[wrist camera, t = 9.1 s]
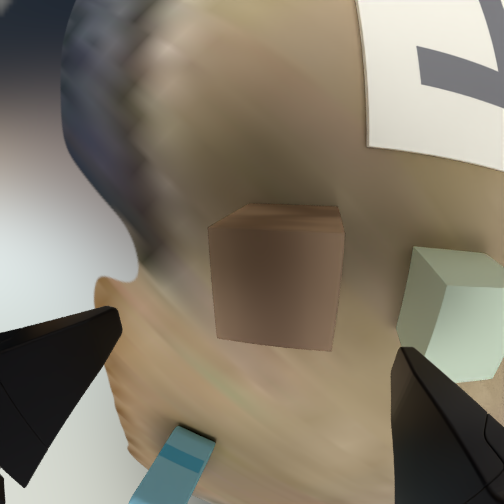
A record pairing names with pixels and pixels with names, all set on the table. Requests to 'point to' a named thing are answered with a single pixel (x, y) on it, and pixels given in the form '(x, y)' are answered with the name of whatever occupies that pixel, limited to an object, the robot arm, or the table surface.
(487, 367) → the sage cube
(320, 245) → the walnut block
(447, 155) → the board
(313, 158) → the table surface
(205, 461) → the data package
